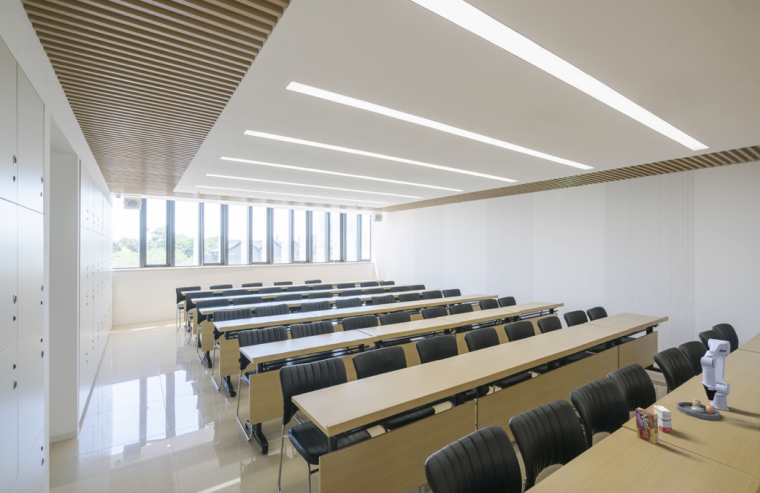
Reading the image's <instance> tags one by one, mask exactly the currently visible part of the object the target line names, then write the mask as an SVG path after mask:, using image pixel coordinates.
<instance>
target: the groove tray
mask: <svg viewBox="0 0 760 493" xmlns="http://www.w3.org/2000/svg"><path fill="white" fill-rule="evenodd" d="M706 405H707V404H702V403H701V408H700V407H696V406H692V401H678V402H677V403H676V410H677V411H679V412H680V413H683V414H685V415H686V416H689V417H694V418H697V419H702V420H709V421H716V420H717V421H718V420H719V419H720V418H721V413H720V411H719V410H718V409H716V408H715V415H709V414H707V413H706Z"/></svg>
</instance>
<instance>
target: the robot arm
mask: <svg viewBox="0 0 760 493" xmlns="http://www.w3.org/2000/svg"><path fill="white" fill-rule="evenodd" d="M707 346H708V348H709V350H706V353H704V356H702V357H701V358H700V364H701V369H702V381H700V384H701V385H702V386H703V388H704V391H705V395H706V397H707V399H708V401H710V402H709V405H712V406H714V407H715V409H716V410H723V411H727V412H729V411H730V410H729V407H728V398H727V397H728V396H729V395H730V394H731V387H730V383H729V382H728V381H726V380H725V366H726V357H727V356H729V355H730V353H731V342H730V341H728V340H722V339H713V338H709V339H708V342H707Z"/></svg>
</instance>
